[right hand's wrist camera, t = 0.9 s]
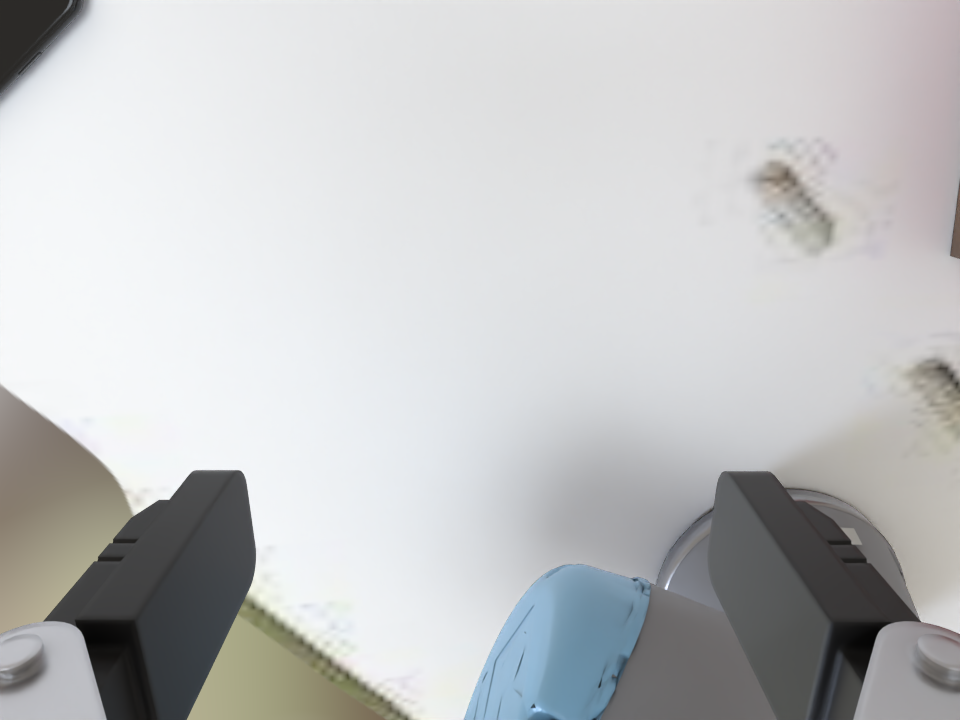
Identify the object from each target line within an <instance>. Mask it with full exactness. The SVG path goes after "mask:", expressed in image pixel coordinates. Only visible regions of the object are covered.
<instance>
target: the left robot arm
mask: <svg viewBox="0 0 960 720" xmlns="http://www.w3.org/2000/svg"><path fill="white" fill-rule="evenodd" d="M785 490H786V491H787V492H788V493H789V495H790V496H791V497H792V498H793V500H794V501H805V502H807V503H808V504H810V505H811V506H813V507H815V508H816V509H818V510H819V511H821V512H822V513H824V514H825V515H827V516H829V517H830V518H832V519H833V520H834V521H835V522H836V523H837V524H838V526H839V527H840V528H841V529H842V530H843V531H844V533H845V534H846V535H847V536H848V537H849V538H850V540H851V543H852V545H856V547H857V548H858V549H859V550H860V551H861V552H862V554H863V555H864V556H865V557H866V558H867V563H871V564H872V565H873V566H874V568H875V569H876V570H877V571H878V572H879V573H880V575H881V576H882V577H883V578H884V579H885V580H886V582H887V583H888V584H889V585H890V586H891V587H892V589H893V590H894V591H895V592H896V593H897V594H898V596H899V597H900V598H901V599H902V600H903V601H904V603H905V604H906V605H907V606H908V607H909V608H910V610H911V611H912V612H913V613H914V614H915V615H916V617H917V618H918V619H919V617H918V614H917V612H916V609H915V607H914V604H913V601H912V599H911V596H910V594H909V592H908V589H907V587H906V583H905V579H904V576H903V572H902V569H901V566H900V563H899V561H898V559H897V557H896V555H895V553H894V551H893V549H892V547H891V546H890V544H889V543H888V541H887V540H886V539H885V538H884V536H883V535H882V534H881V533H880V532H879V531H878V530H877V529H876V528H875V527H874V526H873V525H872V524H871V523H870V522H869V521H868V520H867V519H866V518H865V517H864V516H863V515H862V514H861V513H860V512H859V511H857V510H856V509H855V508H853V507H852V506H850V505H848V504H847V503H845V502H843V501H841V500H839V499H837V498H834V497H831V496H828V495H825V494H821V493H817V492H812V491H806V490H794V489H785ZM712 517H713V511H711V512H709V513H708V514H706V515H705V516H703V517H702V518H701V519H699V520H698V521H697V522H696V523H694V524H693V525H692V526H691V527H690V528H689V529H688V530H687V531H686V532H685V533H684V534H683V535H682V536H681V537H680V538H679V539H678V540H677V542H676V543H675V544H674V546H673V547H672V549H671V550H670V552H669V553H668V555H667V557H666V559H665V561H664V563H663V565H662V568H661V570H660V573H659V577H658V581H657V586H656V585H653V584H651V583H649V582H648V580H645V579H643V578H639V577H634V578H631V579H630V578H627V577H624V576H621V575H617V574H614V573H611V572H607V571H604V570H601V569H597V568H594V567H591V566H587V565H582V564H577V565H563V566H560V567H558V568H555V569H552V570H551V571H549V572H547V573H546V574H544V575H543V576H541V577H540V578H539V579H538V580H537V581H536V582H535V583H534V584H533V585H532V586H531V587H530V588H529V589H528V590H527V592H526V593H525V594H524V595H523V597H522V598H521V599H520V601H519V602H518V604H517V605H516V607H515V608H514V610H513V611H512V613H511V615H510V616H509V618H508V619H507V621H506V623H505V625H504V627H503V628H502V630H501V632H500V634H499V636H498V638H497V640H496V642H495V644H494V646H493V648H492V650H491V652H490V654H489V656H488V659H487V661H486V663H485V666H484V668H483V670H482V672H481V675H480V677H479V680H478V682H477V685H476V687H475V690H474V693H473V695H472V698H471V701H470V703H469V706H468V709H467V712H466V715H465V718H464V720H777V719H776V716H775V714H774V712H773V710H772V708H771V706H770V704H769V702H768V700H767V698H766V696H765V694H764V692H763V690H762V688H761V686H760V684H759V681H758V679H757V677H756V675H755V673H754V671H753V669H752V667H751V665H750V663H749V661H748V659H747V657H746V655H745V653H744V651H743V649H742V646H741V644H740V642H739V640H738V638H737V636H736V634H735V632H734V630H733V628H732V626H731V624H730V622H729V620H728V618H727V616H726V614H725V611H724V609H723V607H722V605H721V603H720V601H719V599H718V597H717V595H716V593H715V591H714V589H713V586H712V583H711V580H710V576H709V570H708V545H709V538H710V531H711V524H712ZM919 620H920V619H919Z"/></svg>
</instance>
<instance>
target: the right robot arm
mask: <svg viewBox="0 0 960 720" xmlns="http://www.w3.org/2000/svg"><path fill="white" fill-rule="evenodd" d="M255 563H256V548H255V540H254V533H253V526H252V519H251V512H250V505H249V498H248V490H247V484H246V479H245V476H244V474H243V473H242V472H241V471H239V470H196V471H193V472H192V473H191V474H190V475H189V476H188V477H187V478H186V480H185V481H184V482H183V483H182V485H181V486H180V487H179V488H178V490H177V491H176V492H175V494H174V495H173V496H172V497H171V499H170V500H158V501H157V502H155V503H154V504H152V505H151V506H149V507H148V508H146V509H144V510H143V511H141V512H140V513H138V514H137V515H135V516H134V517H132V518H131V519H130V520H129V521H128V522H127V524H126V525H125V526H124V527H123V528H122V529H121V531H120V532H119V533H118V534H117V535H116V536H115V538H114V539H113V543H110V544H109V545H108V546H107V547H106V548H105V549H104V551H103V552H102V553H101V554H100V555H99V557H98V561H97V562H93V564H92V565H91V566H90V567H89V568H88V569H87V571H86V572H85V573H84V574H83V575H82V577H81V578H80V579H79V580H78V581H77V582H76V584H75V585H74V586H73V587H72V588H71V589H70V591H69V592H68V593H67V594H66V595H65V596H64V598H63V599H62V600H61V601H60V602H59V603H58V605H57V606H56V607H55V608H54V609H53V611H52V612H51V613H50V614H49V615H48V616H47V618H46V619H45V620H44V621H43V622H38V623H32V624H28V625H24V626H21V627H18V628H15V629H12V630H9V631H7V632H4V633H2V634H0V720H187V718H188V716H189V714H190V711H191V709H192V707H193V705H194V703H195V701H196V699H197V697H198V695H199V693H200V691H201V689H202V686H203V684H204V682H205V680H206V678H207V676H208V674H209V672H210V670H211V668H212V666H213V663H214V661H215V659H216V657H217V655H218V653H219V651H220V649H221V647H222V645H223V643H224V641H225V638H226V636H227V634H228V632H229V630H230V628H231V626H232V624H233V622H234V620H235V618H236V616H237V613H238V611H239V609H240V607H241V605H242V603H243V601H244V599H245V597H246V595H247V593H248V591H249V588H250V586H251V583H252V580H253V576H254V571H255ZM708 570H709V576H710V580H711V583H712V586H713V589H714V591H715V593H716V595H717V597H718V599H719V601H720V603H721V605H722V607H723V609H724V611H725V614H726V616H727V618H728V620H729V622H730V624H731V626H732V628H733V630H734V632H735V634H736V636H737V638H738V640H739V642H740V644H741V646H742V649H743V651H744V653H745V655H746V657H747V659H748V661H749V663H750V665H751V667H752V669H753V671H754V673H755V675H756V677H757V679H758V681H759V684H760V686H761V688H762V690H763V692H764V694H765V696H766V698H767V700H768V702H769V704H770V706H771V708H772V710H773V712H774V714H775V716H776V719H777V720H960V634H958V633H956V632H953V631H951V630H948V629H945V628H942V627H939V626H936V625H932V624H928V623H922V622H921V621H920V620H919V619H918V618H917V617H916V615H915V614H914V613H913V612H912V611H911V610H910V608H909V607H908V606H907V605H906V604H905V603H904V601H903V600H902V599H901V598H900V597H899V596H898V594H897V593H896V592H895V591H894V590H893V589H892V587H891V586H890V585H889V584H888V583H887V582H886V580H885V579H884V578H883V577H882V576H881V575H880V573H879V572H878V571H877V570H876V569H875V568H874V566H873V565H872V564H871V563H867V558H866V557H865V556H864V555H863V554H862V552H861V551H860V550H859V549H858V548H857V547H856V545H852V543H851V540H850V538H849V537H848V536H847V535H846V534H845V533H844V531H843V530H842V529H841V528H840V527H839V526H838V524H837V523H836V522H835V521H834V520H833V519H832V518H830V517H829V516H827V515H825V514H824V513H822V512H821V511H819V510H818V509H816V508H815V507H813V506H811V505H810V504H808V503H807V502H805V501H794V500H793V498H792V497H791V496H790V495H789V493H788V492H787V491H786V490H785V488H784V487H783V486H782V485H781V483H780V482H779V481H778V480H777V478H776V477H775V476H774V475H773V474H772V473H771V472H768V471H725V472H723V473H721V475H720V477H719V479H718V483H717V489H716V496H715V503H714V510H713V517H712V524H711V531H710V538H709V545H708Z"/></svg>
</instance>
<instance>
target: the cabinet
mask: <svg viewBox="0 0 960 720" xmlns="http://www.w3.org/2000/svg"><path fill="white" fill-rule="evenodd" d="M951 256H952V257H956V258H959V259H960V186H959V193H958V201H957V209H956V217H955V225H954V232H953V240H952V248H951Z"/></svg>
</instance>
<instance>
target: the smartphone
mask: <svg viewBox="0 0 960 720" xmlns="http://www.w3.org/2000/svg"><path fill="white" fill-rule="evenodd" d="M82 6H83V0H0V96H1V95H2V94H3V93H4V92H5V91H6V90H7V89H8V88H9V87H10V86H11V85H12V84H13V83H14V82H15V81H16V79H17V78H18V77H19V76H20V75H22V74H23V73H24V72H25V71H26V70H27V69H28V68H29V67H30V66H31V65H32V64H33V63H34V62H35V61H36V60H37V58H38V57H39V56H40V55H41V54H42V53H43V51H44V50H45V49H46V48H47V47H48V46H49V45H50V44H51V43H52V42H53V41H54V40H55V39H56V38H57V37H58V36H59V35H60V34H61V33H62V32H63V31H64V30H65V29H66V28H67V27H68V26H69V25H70V23H71V22H72V21H73V20H74V19H75V18H76V17H77V16H78V14H79V13H80V11H81V9H82Z"/></svg>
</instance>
